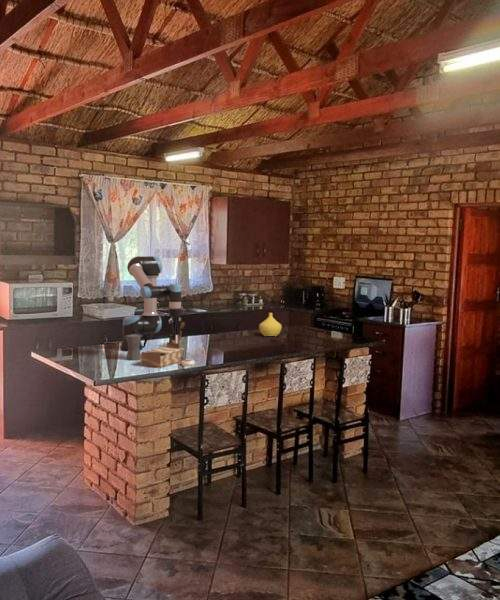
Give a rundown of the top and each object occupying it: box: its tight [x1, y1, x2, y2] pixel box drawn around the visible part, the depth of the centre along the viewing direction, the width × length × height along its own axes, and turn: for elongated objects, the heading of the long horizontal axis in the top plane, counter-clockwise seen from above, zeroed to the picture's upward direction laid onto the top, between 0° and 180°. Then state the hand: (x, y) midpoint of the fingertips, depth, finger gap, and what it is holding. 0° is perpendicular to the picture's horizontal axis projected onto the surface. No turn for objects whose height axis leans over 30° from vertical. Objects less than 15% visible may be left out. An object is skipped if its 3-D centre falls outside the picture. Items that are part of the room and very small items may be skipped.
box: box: [140, 351, 181, 369], centre depth 341 cm, size 20×15×8 cm
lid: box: [146, 341, 185, 354], centre depth 345 cm, size 19×14×4 cm
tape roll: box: [180, 359, 196, 367], centre depth 340 cm, size 8×8×3 cm
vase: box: [258, 312, 282, 337], centre depth 458 cm, size 18×18×19 cm
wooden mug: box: [168, 321, 186, 348], centre depth 401 cm, size 9×14×18 cm, turn 133°
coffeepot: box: [124, 331, 149, 361], centre depth 354 cm, size 15×9×18 cm, turn 90°
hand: (175, 345), depth 354 cm, fingers closed
